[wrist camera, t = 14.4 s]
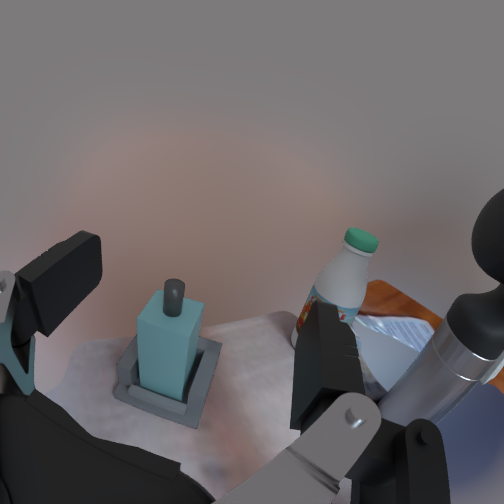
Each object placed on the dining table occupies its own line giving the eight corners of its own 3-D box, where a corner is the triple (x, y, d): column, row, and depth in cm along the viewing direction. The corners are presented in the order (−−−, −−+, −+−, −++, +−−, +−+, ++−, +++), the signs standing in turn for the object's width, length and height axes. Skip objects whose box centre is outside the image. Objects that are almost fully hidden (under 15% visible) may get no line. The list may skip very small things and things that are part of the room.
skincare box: (482, 386, 37) (523, 332, 31) (468, 368, 42) (506, 315, 36) (494, 377, 39) (530, 328, 33) (481, 362, 44) (515, 313, 38)
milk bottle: (296, 323, 47) (339, 217, 38) (336, 339, 45) (387, 236, 36) (284, 350, 40) (334, 230, 31) (329, 368, 38) (393, 254, 30)
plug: (181, 401, 27) (193, 309, 21) (140, 386, 27) (136, 290, 21) (192, 370, 31) (209, 278, 25) (155, 357, 31) (160, 263, 25)
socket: (196, 429, 25) (200, 410, 23) (114, 397, 25) (109, 375, 23) (216, 365, 34) (222, 343, 32) (147, 342, 34) (147, 318, 33)
